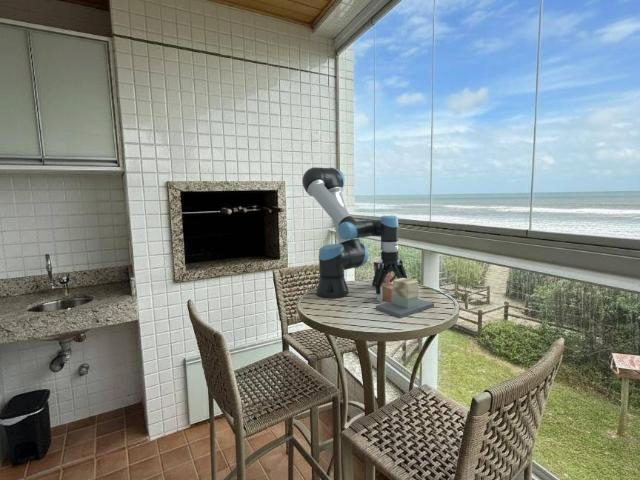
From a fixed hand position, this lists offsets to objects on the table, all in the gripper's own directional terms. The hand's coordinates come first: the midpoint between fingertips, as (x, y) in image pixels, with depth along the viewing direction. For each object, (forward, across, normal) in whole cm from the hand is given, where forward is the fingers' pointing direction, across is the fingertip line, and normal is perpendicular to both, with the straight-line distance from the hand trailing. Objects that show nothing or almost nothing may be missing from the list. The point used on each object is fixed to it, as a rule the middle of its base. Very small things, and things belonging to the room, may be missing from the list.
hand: (390, 298), depth 149 cm
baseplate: (0, -5, -13) cm, 14 cm away
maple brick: (-5, -5, -13) cm, 15 cm away
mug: (0, +13, +15) cm, 20 cm away
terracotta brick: (0, 0, 0) cm, 0 cm away
